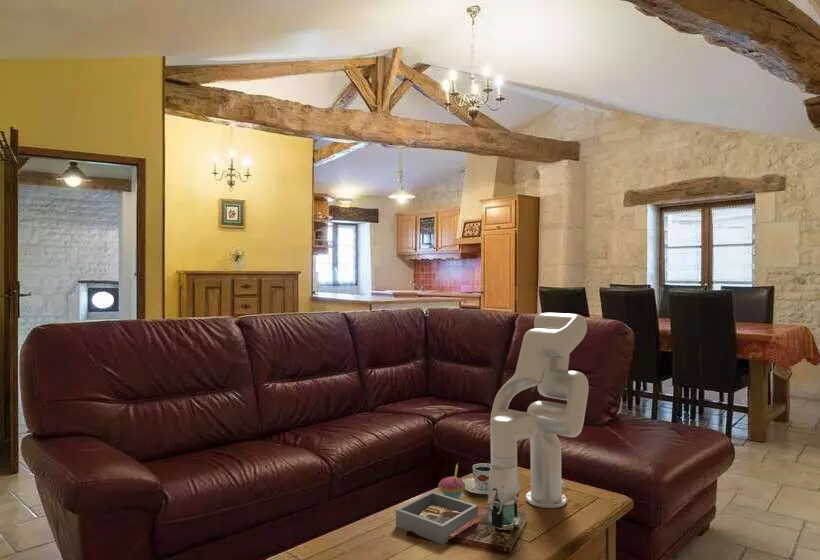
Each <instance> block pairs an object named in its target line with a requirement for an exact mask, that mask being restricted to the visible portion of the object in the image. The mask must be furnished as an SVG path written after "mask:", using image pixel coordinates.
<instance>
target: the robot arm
mask: <svg viewBox="0 0 820 560" xmlns="http://www.w3.org/2000/svg"><path fill="white" fill-rule="evenodd" d="M533 325H534V326H533V327H534V328H531V329H529V330H527V331H525V333H524V335H523V339H522V342H521V347H520V351H519V356H518V360H517V363H516V368H515V372H514V374H513V376H512V377H510V378H509V379H508V380H507V381H506V382H505V383H504V384H503V385H502V386H501V388H500V389H499V390H498V391H497V393H496V395H495V397H494V400H493V404H492V409H491V413H490V468H489V473H488V483H487V503H486V504H487V506H488V508H489V510H490V513H491V526H493V525H494V526H493V527H495V526H496V527H499V528H502V513H501V510H502V506H503V504H504V503H506V502H508V501H509V500H511V499H512V498H514V499H515V503H514V518H515V517H516V518H517V517H518V502H519V499H518V497H519V495H520V489H521V484H519V483H520V482H519V473H518V472H519V471H518V441H523V440H529V441H530V447H529V448H530V451H529V452H530V454H529V455H530V491H528V492H526V495H525V500H526V501H527V502H528V503H529V504H530V505H532V506H535V507H539V508H544V509H557V508H558V509H559V508H562V507H564V506H565V505H567V499H568V498H567V496H566V495H565V494H563V493H562V490H563V488H564V487H565V486H566V483H565V481H563V480H562V446H561V442H560V439H559V437H558V436H561V437H562V436H563V437H568V438H576V437H578V436H579V435H580V434H581V432H582V430H583V427H584V422H585V416H586V410H587V409H586V408H587V404H588V398H589V380H588V378H587V376H586V375H585V374H584V373H583V372H581V371H577V370H570V369H569V363H570V354H571V353H572V351H574V350H575V348H576V347H577V346H578V345H579V344H580V343H581V342H582V341H583V340H584V339H585V336H586V334H587V330H588V323H587V320H586V318H585V317H584V316H583V315H580V314H578V313H563V312H542V313H538V314H537V315H536V316H535V317H534V320H533ZM536 386H537V392H539V393H538V394H540V395H541V396H543V397H545V398H551V399H555V400H556V399H557V400H562V401H566V404H565V403H560V402H559V403H558V402H552V401H548V400H537V401H534V402H531V403H530V404H529V406H528V407H527V411H526V412H525V411H519V410H514V409H510V408H509V406H510V403H511V401H513V400H512V399H513V398H514V397H515V396H516V395H517V394H519V393H520V392H522V391H524V390H527V389H530V388H533V387H536ZM496 499H498V500H500V502H498V501H496ZM496 504H499V507H498V508H497V507H496V506H495V505H496Z"/></svg>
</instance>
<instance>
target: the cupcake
mask: <svg viewBox="0 0 820 560" xmlns="http://www.w3.org/2000/svg"><path fill="white" fill-rule="evenodd" d="M458 464H459V463H458V462H457V464H456V465H455V471H454V476H445V477H444V478H442V479H441V480H440V481H439V482H438V486H437V487H438V489H439V490H440V492H442V493H441V494H442V495H445V496H449V497H452V498H455V499H458V500H461V499H460V498H461V495H462V493H463V492H464V491H465V489H466V484H465V482H464V481H463V480H462V479H461V478H459V477H457V476H458V475H457V474H458V469H459V465H458Z"/></svg>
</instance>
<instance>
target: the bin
mask: <svg viewBox="0 0 820 560" xmlns="http://www.w3.org/2000/svg"><path fill="white" fill-rule="evenodd" d="M431 505H435V506H439V507H443V508H447V509H450V510H454V511H458V512H461V513H460V514H458V515H456V516H455V517H453V518H451V519H450V520H448V521H446V522H445V523H443V524H441V523H438V522H435V521H432V520H429V519H427V518H424V517H421V516H419V515H420V513H421V512H422V511H423V510H425V509H426V508H428V507H429V506H431ZM478 506H479V505H477V504H475V503H470V502H467V501H465V500H461V499H459V500H458V499H455V498H452V497H449V496H445V495H443V493H439V492H435V491H430V492H428V493H426V494H424V495H421V496H420V497H418V498H416V499H414V500H412V501H410V502H408V503H406V504H403V505H401V506H399V507H397V508H396V509H395V527H396V528H398V529H401V530H403V531H405V532H408V531H413V532H414V533H416V534H415V535H416V536H420V537H422V538H424V539H426V540H427V539H428V540H430V541H432V542H435V543H438V544H441V545H442V546H443V545H445V544H447V543H448V542H449V541H448V538H449V536H450V535H451V534H452V533H454V532H455V531H457V530H458V529H459V528H460V527H462V526H463V525H465V524H466V523H468V522H469V521H471V520H473V519H474V518H476V517H478V518H479V515H478V512H479V511H478V510H479V509H478V508H479V507H478ZM414 533H413V534H414ZM417 534H418V535H417Z"/></svg>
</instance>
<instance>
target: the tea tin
mask: <svg viewBox="0 0 820 560" xmlns="http://www.w3.org/2000/svg"><path fill="white" fill-rule="evenodd" d="M496 501H498V502H500V500H498V499H496ZM514 503H515V499H514V498H512V499H511V500H509V501H508V502H506V503H504V504H503V506H502V510H501V513H502V525H510V524H512V523H514V524H515V517H514ZM495 506H496V507H497V508H498V507H499V504H496V505H495Z"/></svg>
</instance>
